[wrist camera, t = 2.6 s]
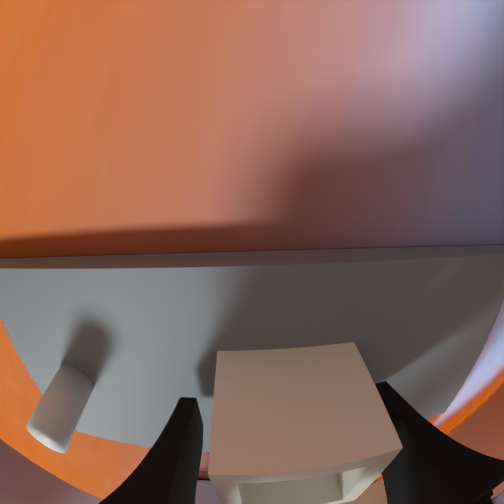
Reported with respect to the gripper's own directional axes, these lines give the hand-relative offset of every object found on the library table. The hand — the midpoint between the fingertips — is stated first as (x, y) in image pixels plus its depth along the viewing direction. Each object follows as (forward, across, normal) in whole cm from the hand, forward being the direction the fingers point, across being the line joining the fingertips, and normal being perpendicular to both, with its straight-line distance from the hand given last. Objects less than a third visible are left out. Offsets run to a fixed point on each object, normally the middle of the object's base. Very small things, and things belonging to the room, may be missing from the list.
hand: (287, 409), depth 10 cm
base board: (+2, +1, 0) cm, 2 cm away
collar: (+1, 0, 0) cm, 1 cm away
